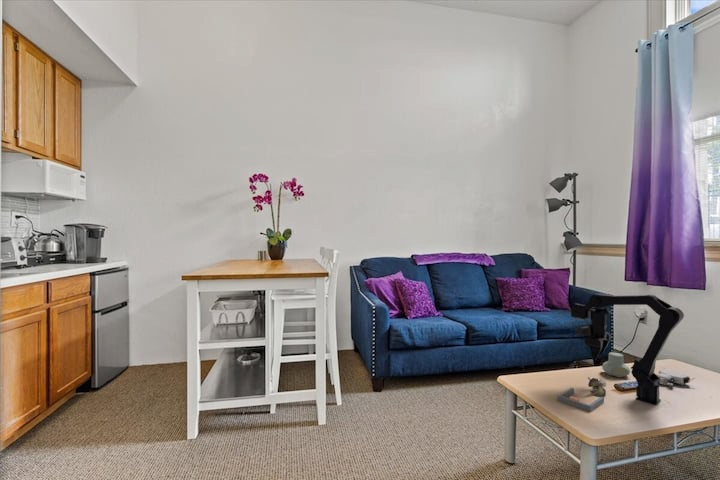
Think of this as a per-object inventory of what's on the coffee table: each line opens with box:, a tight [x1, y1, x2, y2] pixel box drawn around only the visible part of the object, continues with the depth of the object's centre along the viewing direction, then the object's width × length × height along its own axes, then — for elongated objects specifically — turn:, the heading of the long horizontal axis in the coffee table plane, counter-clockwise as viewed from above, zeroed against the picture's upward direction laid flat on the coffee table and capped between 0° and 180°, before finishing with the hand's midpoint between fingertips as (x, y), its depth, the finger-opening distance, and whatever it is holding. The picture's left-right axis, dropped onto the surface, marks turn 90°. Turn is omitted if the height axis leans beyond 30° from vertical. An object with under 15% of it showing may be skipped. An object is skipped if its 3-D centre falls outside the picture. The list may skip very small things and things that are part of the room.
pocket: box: [556, 387, 605, 413], centre depth 145 cm, size 12×13×3 cm
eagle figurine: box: [587, 377, 607, 398], centre depth 153 cm, size 8×7×9 cm
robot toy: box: [655, 368, 696, 386], centre depth 165 cm, size 12×4×15 cm
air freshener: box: [601, 351, 631, 378], centre depth 174 cm, size 11×8×10 cm
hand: (597, 357), depth 161 cm, fingers open, 9 cm apart
